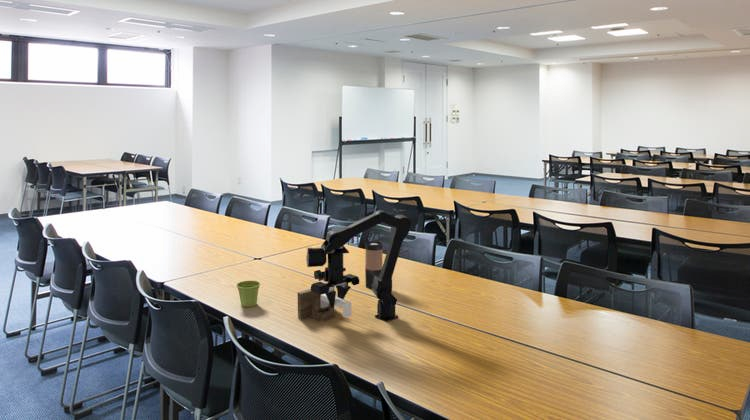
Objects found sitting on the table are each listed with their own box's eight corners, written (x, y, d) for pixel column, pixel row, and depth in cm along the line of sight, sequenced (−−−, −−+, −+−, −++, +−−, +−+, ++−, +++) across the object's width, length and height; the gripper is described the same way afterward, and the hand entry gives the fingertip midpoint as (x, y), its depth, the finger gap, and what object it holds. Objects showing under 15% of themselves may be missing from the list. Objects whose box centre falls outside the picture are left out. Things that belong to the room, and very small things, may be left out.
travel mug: (385, 285, 234) (385, 242, 230) (376, 290, 227) (376, 245, 224) (371, 283, 238) (371, 240, 234) (361, 287, 231) (362, 243, 228)
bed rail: (351, 315, 187) (351, 302, 186) (345, 317, 185) (344, 304, 184) (326, 305, 197) (326, 293, 196) (320, 307, 195) (320, 294, 194)
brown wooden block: (345, 313, 200) (345, 288, 198) (311, 324, 189) (311, 298, 187) (331, 307, 206) (330, 283, 204) (297, 317, 195) (297, 292, 193)
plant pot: (264, 306, 207) (264, 285, 206) (241, 310, 202) (240, 289, 200) (255, 299, 215) (255, 279, 213) (233, 303, 209) (232, 282, 208)
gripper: (340, 256, 200) (341, 295, 202) (301, 265, 187) (301, 306, 190) (360, 262, 192) (360, 302, 194) (320, 271, 179) (320, 314, 182)
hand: (335, 306), depth 190 cm, fingers closed on bed rail, 3 cm apart
